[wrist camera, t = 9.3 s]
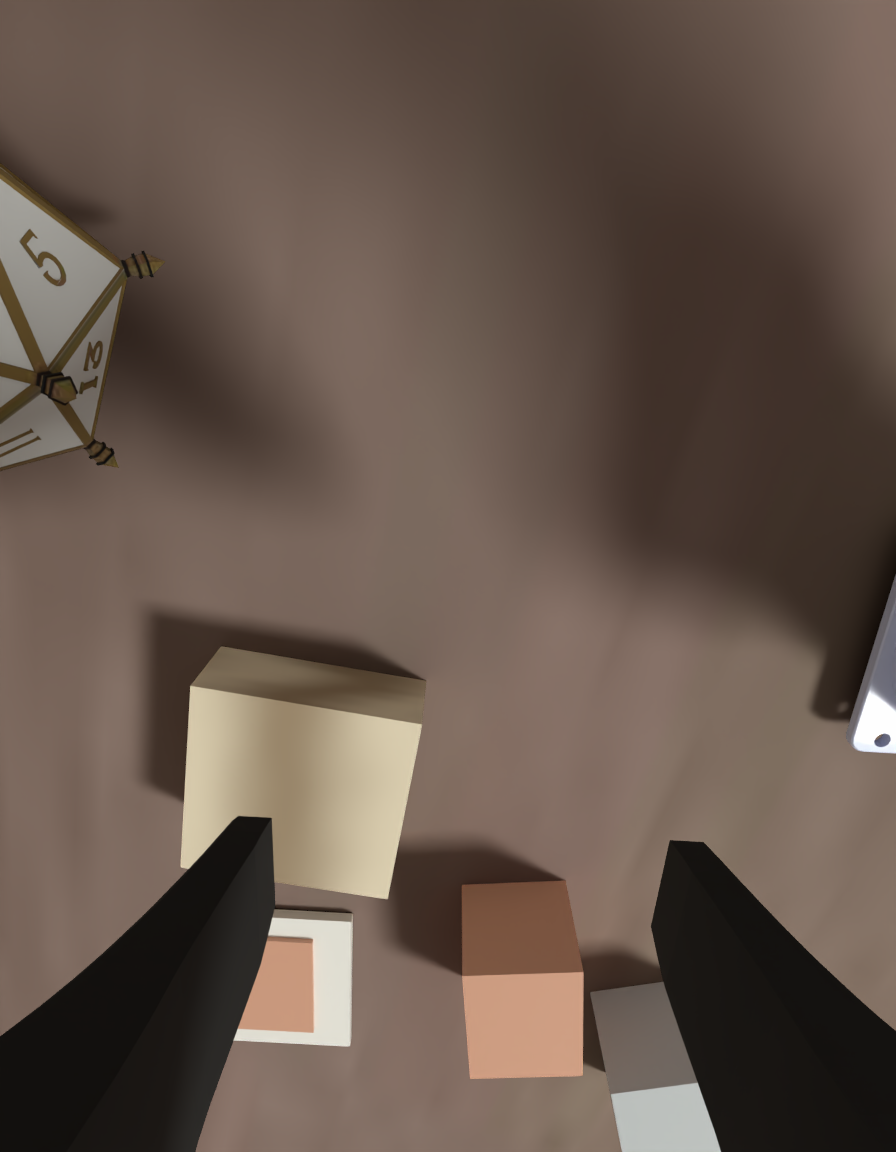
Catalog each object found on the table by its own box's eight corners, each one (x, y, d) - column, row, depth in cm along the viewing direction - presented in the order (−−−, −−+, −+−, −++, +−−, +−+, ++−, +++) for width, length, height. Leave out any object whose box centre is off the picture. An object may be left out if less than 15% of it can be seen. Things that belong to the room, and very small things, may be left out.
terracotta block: (564, 878, 25) (583, 972, 22) (565, 973, 27) (582, 1075, 23) (461, 882, 25) (462, 976, 22) (468, 976, 27) (470, 1078, 23)
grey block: (685, 976, 27) (723, 1079, 23) (696, 1057, 29) (732, 1166, 25) (589, 989, 27) (610, 1094, 24) (605, 1069, 29) (627, 1179, 25)
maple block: (426, 676, 23) (421, 724, 20) (395, 835, 25) (387, 899, 22) (224, 641, 22) (190, 685, 19) (212, 806, 25) (180, 867, 22)
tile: (352, 913, 26) (350, 926, 25) (351, 1036, 28) (349, 1051, 28) (175, 903, 26) (169, 916, 25) (188, 1028, 28) (183, 1042, 28)
